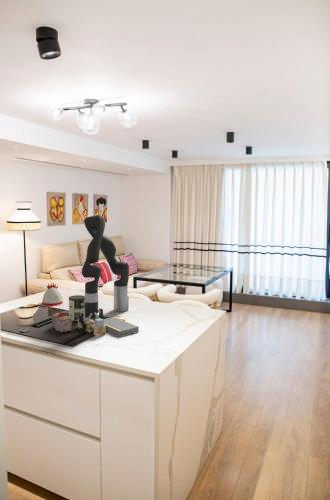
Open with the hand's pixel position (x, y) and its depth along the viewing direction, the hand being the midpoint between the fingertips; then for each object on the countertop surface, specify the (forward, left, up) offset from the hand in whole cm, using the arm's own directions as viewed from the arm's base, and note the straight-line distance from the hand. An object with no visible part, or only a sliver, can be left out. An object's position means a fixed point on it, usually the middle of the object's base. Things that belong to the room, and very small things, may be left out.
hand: (91, 328), depth 207 cm
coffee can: (-5, -24, -2) cm, 25 cm away
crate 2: (0, +8, +4) cm, 9 cm away
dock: (-13, +6, -1) cm, 14 cm away
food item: (+12, -12, -2) cm, 17 cm away
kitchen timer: (-11, -69, -2) cm, 70 cm away
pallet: (0, 0, -1) cm, 1 cm away
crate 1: (0, -8, +4) cm, 9 cm away
